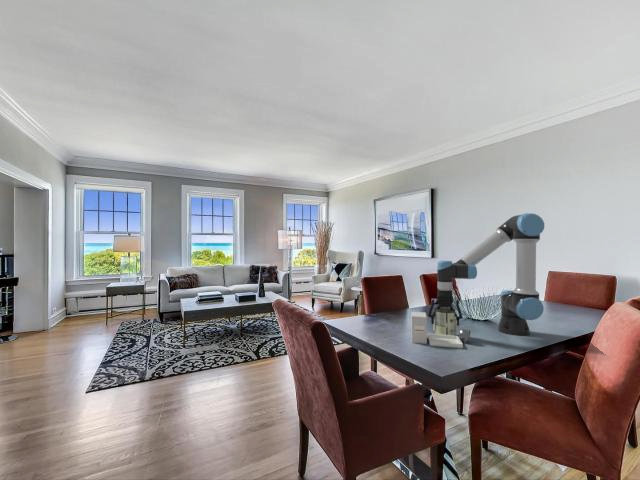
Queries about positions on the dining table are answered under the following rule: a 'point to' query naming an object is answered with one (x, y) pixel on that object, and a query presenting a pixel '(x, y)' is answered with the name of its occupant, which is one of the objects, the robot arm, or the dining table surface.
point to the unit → (419, 327)
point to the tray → (445, 341)
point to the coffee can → (445, 321)
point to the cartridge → (464, 336)
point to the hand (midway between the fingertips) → (445, 330)
